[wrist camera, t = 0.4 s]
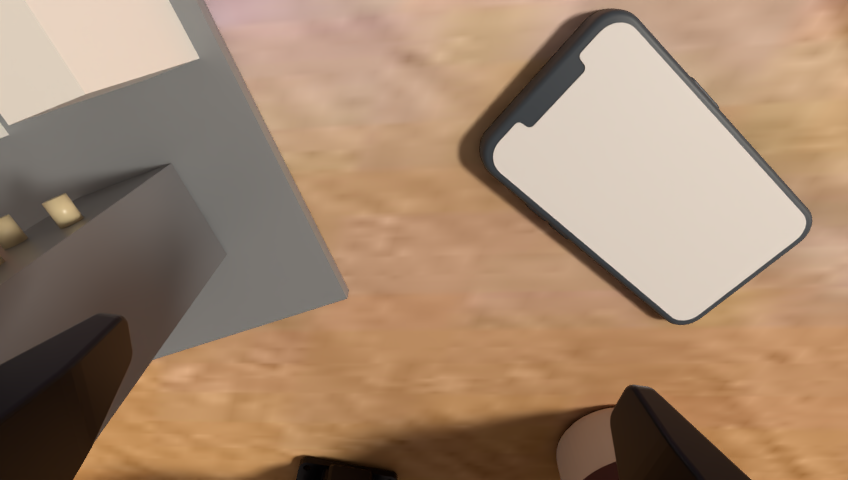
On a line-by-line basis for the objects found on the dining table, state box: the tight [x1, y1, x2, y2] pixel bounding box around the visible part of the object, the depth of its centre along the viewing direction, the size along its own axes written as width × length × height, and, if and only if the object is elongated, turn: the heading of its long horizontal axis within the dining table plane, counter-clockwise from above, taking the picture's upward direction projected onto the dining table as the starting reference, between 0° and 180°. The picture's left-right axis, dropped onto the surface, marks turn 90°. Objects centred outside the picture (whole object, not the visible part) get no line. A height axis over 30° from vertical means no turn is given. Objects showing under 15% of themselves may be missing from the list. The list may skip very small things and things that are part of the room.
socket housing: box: [0, 0, 349, 360], centre depth 20 cm, size 19×14×9 cm
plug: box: [0, 164, 227, 442], centre depth 18 cm, size 6×5×12 cm
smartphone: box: [480, 9, 812, 325], centre depth 24 cm, size 9×2×16 cm
